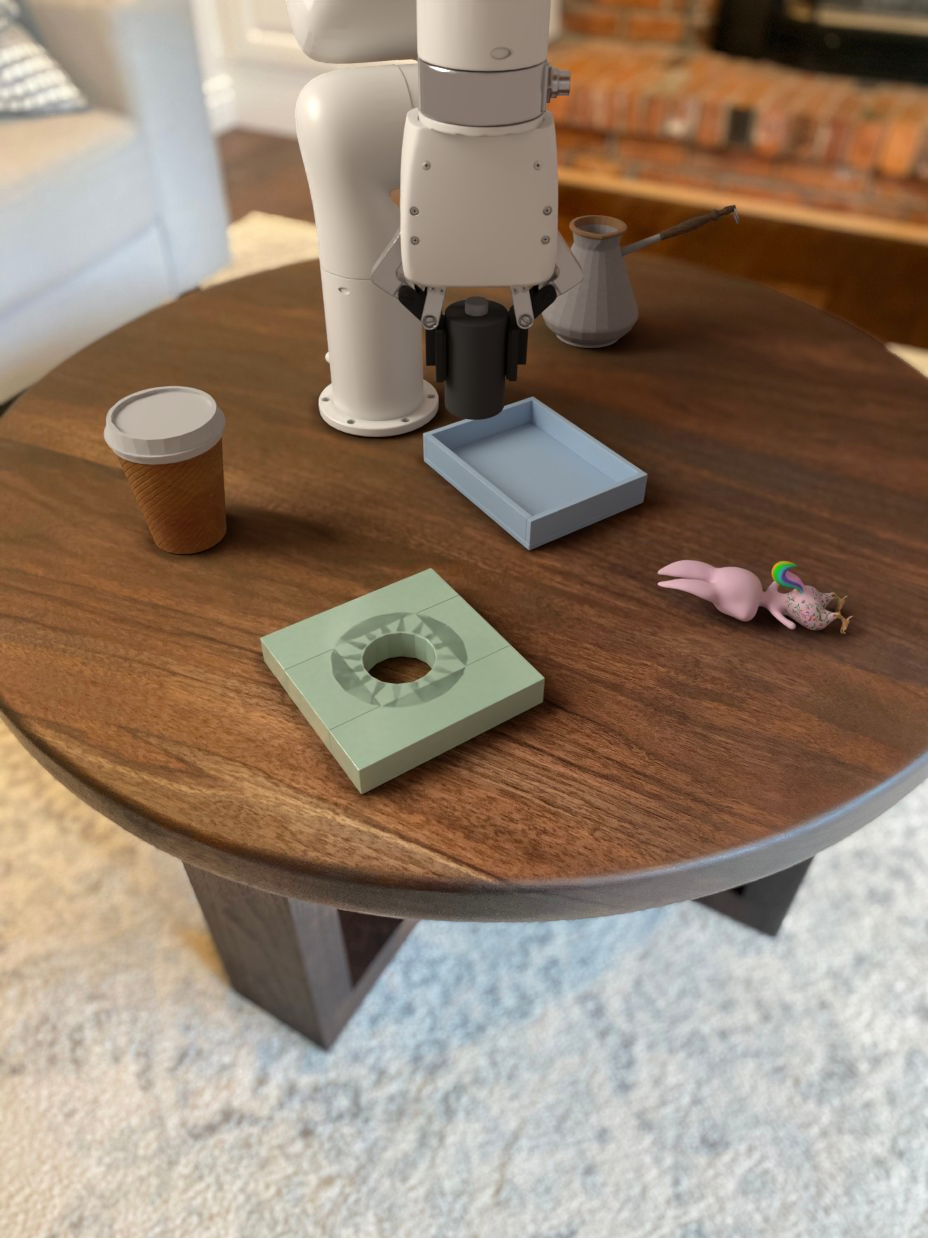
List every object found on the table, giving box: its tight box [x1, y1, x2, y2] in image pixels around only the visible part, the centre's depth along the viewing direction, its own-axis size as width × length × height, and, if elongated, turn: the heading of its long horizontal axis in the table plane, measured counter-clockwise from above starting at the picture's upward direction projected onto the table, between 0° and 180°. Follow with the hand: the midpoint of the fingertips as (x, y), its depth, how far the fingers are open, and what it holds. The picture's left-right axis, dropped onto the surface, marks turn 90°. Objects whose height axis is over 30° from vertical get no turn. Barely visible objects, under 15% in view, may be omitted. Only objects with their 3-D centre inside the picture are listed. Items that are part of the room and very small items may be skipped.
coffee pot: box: [541, 204, 740, 349], centre depth 108 cm, size 21×12×15 cm, turn 91°
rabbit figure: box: [657, 559, 854, 635], centre depth 73 cm, size 6×6×15 cm
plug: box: [444, 295, 508, 420], centre depth 67 cm, size 4×4×8 cm
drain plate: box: [259, 567, 546, 795], centre depth 69 cm, size 15×15×2 cm
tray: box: [422, 396, 648, 551], centre depth 88 cm, size 17×13×3 cm
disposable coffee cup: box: [103, 385, 228, 555], centre depth 79 cm, size 10×10×12 cm
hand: (475, 370), depth 68 cm, fingers closed on plug, 4 cm apart
